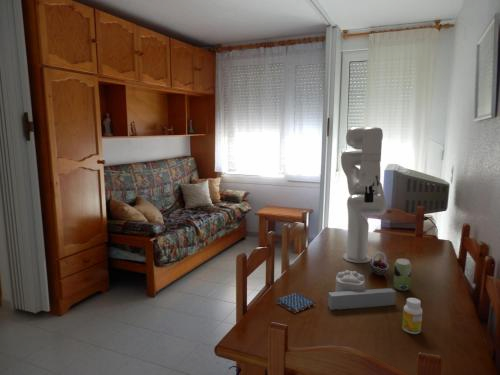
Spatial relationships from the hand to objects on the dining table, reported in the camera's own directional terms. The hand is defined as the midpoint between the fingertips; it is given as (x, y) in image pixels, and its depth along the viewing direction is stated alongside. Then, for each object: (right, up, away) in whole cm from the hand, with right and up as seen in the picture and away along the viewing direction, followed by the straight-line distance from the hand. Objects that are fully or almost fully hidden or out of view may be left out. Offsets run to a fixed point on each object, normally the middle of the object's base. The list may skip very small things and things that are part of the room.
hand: (368, 202), depth 153 cm
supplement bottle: (+1, -39, -38) cm, 54 cm away
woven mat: (-33, -36, -22) cm, 54 cm away
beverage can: (+10, -34, -8) cm, 37 cm away
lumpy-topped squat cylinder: (-12, -35, -14) cm, 39 cm away
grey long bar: (-10, -36, -22) cm, 43 cm away
